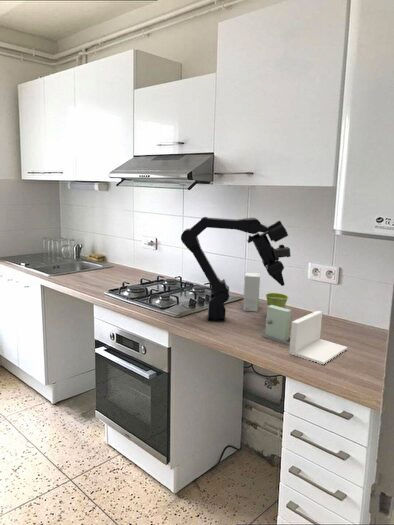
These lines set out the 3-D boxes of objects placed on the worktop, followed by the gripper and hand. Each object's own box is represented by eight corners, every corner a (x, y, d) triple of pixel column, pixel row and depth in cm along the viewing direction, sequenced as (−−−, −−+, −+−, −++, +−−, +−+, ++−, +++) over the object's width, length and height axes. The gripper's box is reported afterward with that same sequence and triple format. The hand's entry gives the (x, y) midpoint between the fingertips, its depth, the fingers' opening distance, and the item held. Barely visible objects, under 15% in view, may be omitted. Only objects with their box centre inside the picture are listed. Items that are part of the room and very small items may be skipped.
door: (263, 336, 150) (265, 307, 148) (269, 333, 153) (271, 304, 151) (283, 342, 145) (285, 312, 143) (288, 339, 148) (291, 310, 146)
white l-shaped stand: (251, 340, 146) (253, 310, 144) (278, 328, 159) (280, 301, 157) (323, 365, 129) (327, 331, 127) (346, 349, 142) (350, 318, 140)
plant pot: (282, 312, 181) (283, 292, 179) (290, 319, 172) (291, 298, 170) (261, 312, 179) (262, 292, 178) (268, 319, 170) (269, 298, 169)
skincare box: (257, 312, 179) (260, 277, 176) (242, 310, 180) (244, 275, 177) (258, 306, 187) (261, 273, 184) (243, 305, 189) (246, 271, 186)
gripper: (287, 241, 151) (305, 279, 154) (279, 235, 170) (296, 268, 172) (259, 255, 153) (277, 292, 155) (255, 247, 171) (271, 280, 173)
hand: (281, 282), depth 164 cm, fingers open, 9 cm apart
